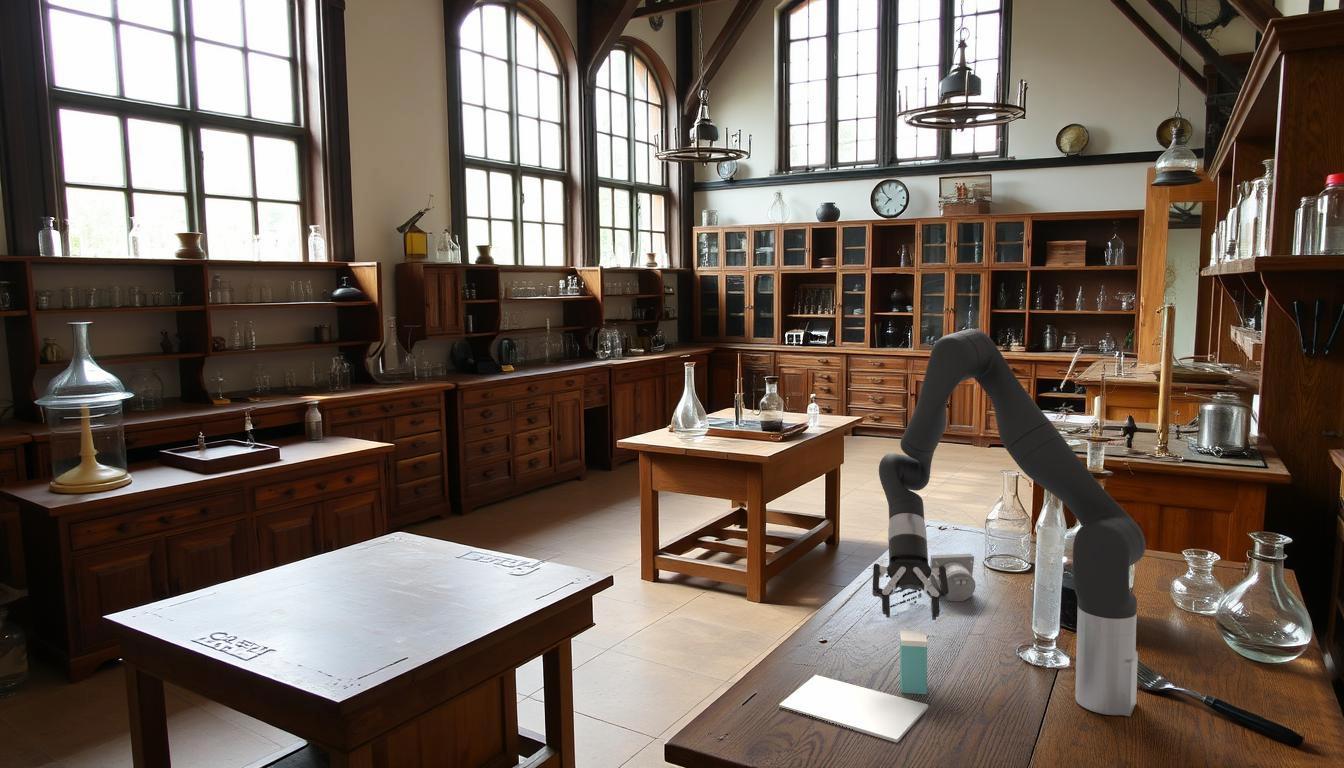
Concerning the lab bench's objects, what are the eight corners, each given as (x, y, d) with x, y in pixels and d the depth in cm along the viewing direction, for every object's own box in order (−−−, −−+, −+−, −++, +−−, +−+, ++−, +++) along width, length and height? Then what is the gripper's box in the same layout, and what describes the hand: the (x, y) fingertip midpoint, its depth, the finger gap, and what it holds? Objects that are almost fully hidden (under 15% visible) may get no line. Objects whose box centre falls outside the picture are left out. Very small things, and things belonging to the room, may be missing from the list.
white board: (928, 707, 155) (928, 704, 155) (897, 742, 144) (897, 739, 144) (815, 677, 168) (815, 674, 168) (779, 707, 157) (779, 704, 157)
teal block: (925, 683, 165) (925, 631, 164) (927, 694, 160) (927, 641, 159) (900, 681, 166) (900, 630, 165) (901, 692, 161) (901, 640, 160)
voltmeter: (947, 585, 216) (948, 545, 215) (989, 597, 207) (989, 556, 205) (875, 612, 200) (875, 570, 199) (917, 627, 191) (917, 583, 190)
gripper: (871, 531, 177) (873, 607, 167) (945, 533, 174) (951, 610, 164) (871, 548, 182) (872, 623, 173) (942, 550, 180) (948, 627, 170)
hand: (911, 617), depth 168 cm, fingers open, 8 cm apart
